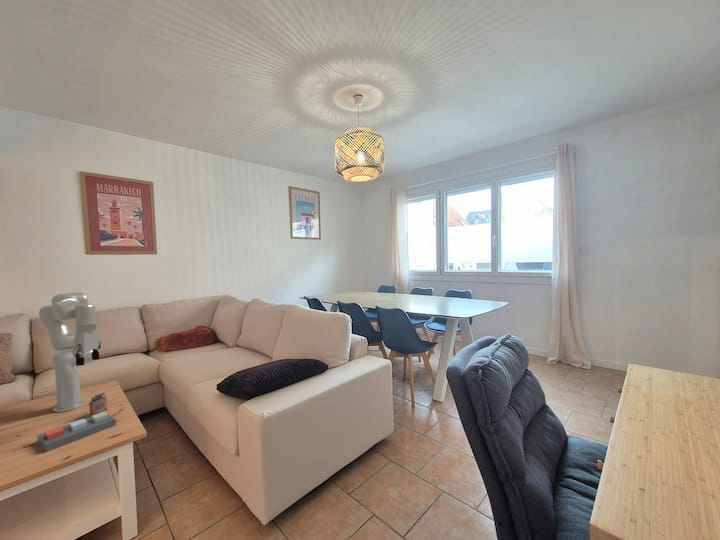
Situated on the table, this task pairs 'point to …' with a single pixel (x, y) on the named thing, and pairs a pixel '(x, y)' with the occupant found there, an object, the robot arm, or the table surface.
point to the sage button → (99, 417)
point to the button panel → (75, 433)
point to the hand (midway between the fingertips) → (88, 362)
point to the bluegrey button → (77, 424)
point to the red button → (54, 433)
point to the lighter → (98, 404)
